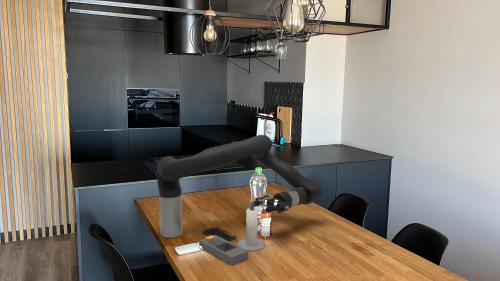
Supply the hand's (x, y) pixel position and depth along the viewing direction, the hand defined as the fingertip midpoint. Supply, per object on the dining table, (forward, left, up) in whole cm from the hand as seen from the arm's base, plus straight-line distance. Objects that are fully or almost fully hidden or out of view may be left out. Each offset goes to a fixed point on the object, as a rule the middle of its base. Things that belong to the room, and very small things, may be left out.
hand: (258, 207), depth 159 cm
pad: (0, -4, -15) cm, 15 cm away
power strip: (-2, -17, -15) cm, 23 cm away
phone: (-16, -8, -15) cm, 24 cm away
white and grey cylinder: (0, -4, -14) cm, 15 cm away
